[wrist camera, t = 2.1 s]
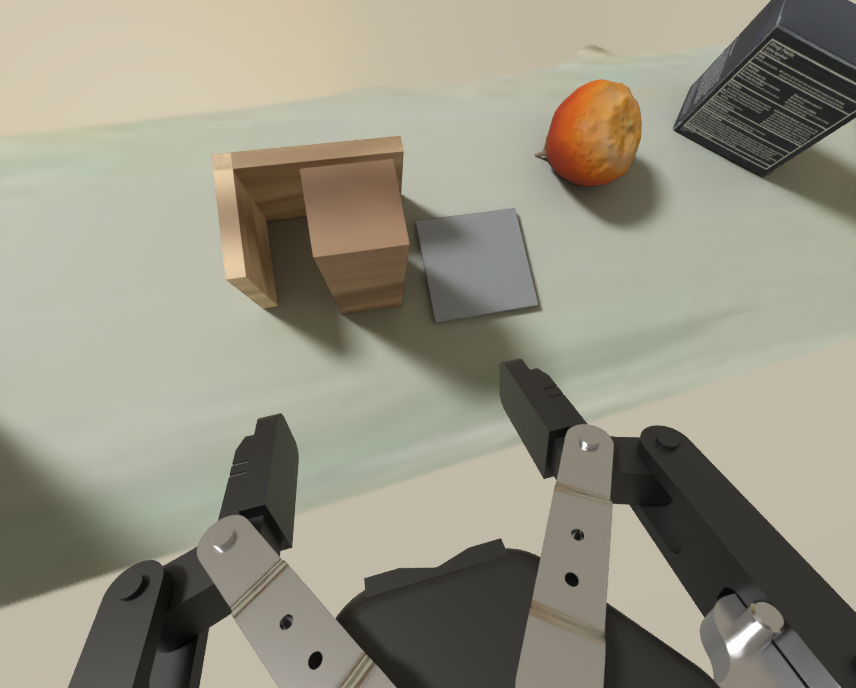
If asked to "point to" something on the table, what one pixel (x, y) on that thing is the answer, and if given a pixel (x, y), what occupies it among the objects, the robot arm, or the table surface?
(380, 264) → the plate
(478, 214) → the mat
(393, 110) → the table surface
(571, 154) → the fruit
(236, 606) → the robot arm
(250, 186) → the shelf end
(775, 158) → the small box
